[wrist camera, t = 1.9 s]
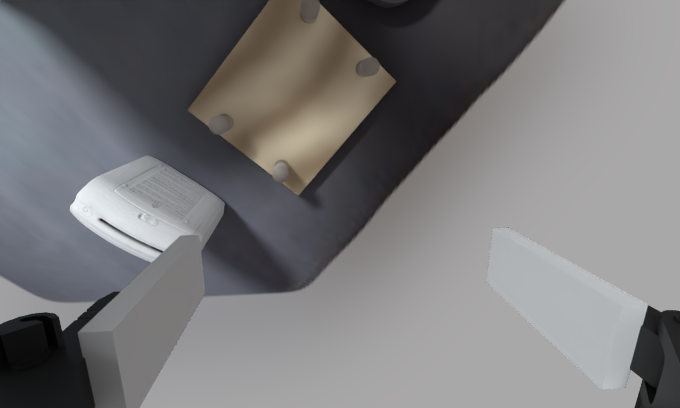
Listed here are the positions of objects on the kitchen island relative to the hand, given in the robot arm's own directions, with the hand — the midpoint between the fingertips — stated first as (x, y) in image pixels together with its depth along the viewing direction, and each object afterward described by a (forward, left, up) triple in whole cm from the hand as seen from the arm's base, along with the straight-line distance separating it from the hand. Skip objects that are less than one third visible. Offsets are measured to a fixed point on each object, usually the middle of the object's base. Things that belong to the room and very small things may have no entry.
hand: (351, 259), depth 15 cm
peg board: (-6, +4, -24) cm, 25 cm away
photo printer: (-9, -12, -24) cm, 29 cm away
